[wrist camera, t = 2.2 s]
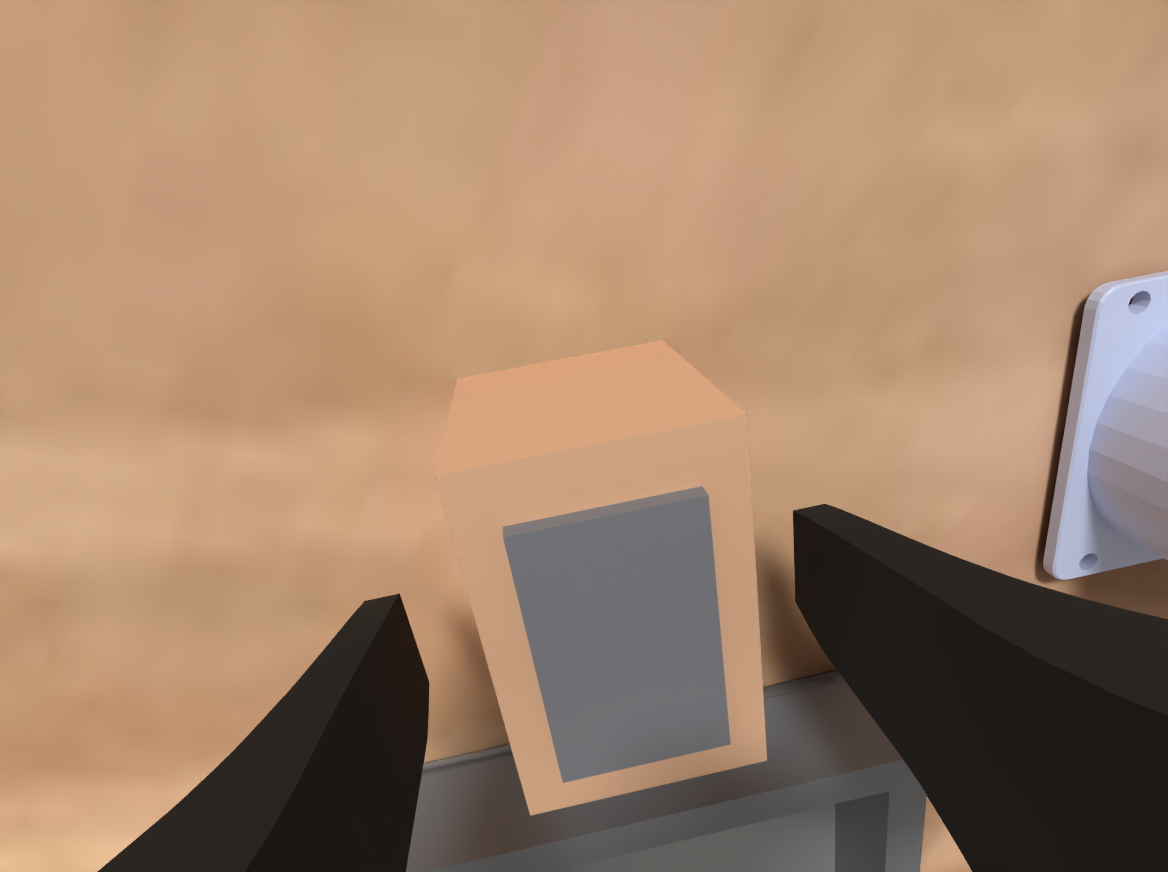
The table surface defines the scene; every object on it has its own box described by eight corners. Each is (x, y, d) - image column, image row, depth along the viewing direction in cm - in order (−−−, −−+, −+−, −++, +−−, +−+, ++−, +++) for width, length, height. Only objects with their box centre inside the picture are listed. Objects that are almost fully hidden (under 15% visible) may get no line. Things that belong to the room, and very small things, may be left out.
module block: (661, 338, 13) (755, 421, 8) (690, 597, 16) (773, 774, 11) (457, 377, 13) (432, 485, 8) (521, 633, 16) (531, 831, 11)
